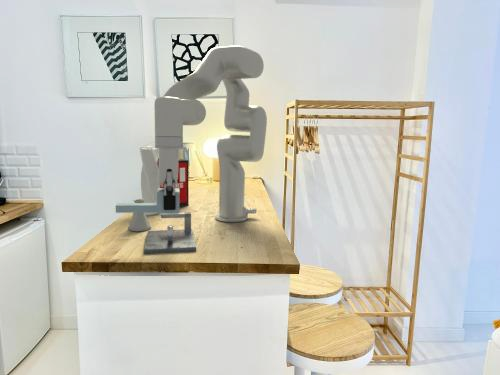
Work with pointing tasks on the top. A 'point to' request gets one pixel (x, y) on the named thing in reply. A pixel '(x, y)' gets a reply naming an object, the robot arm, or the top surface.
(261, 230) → the top surface
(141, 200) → the flask
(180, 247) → the base
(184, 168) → the cleaning product box
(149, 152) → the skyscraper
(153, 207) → the link
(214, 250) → the top surface
